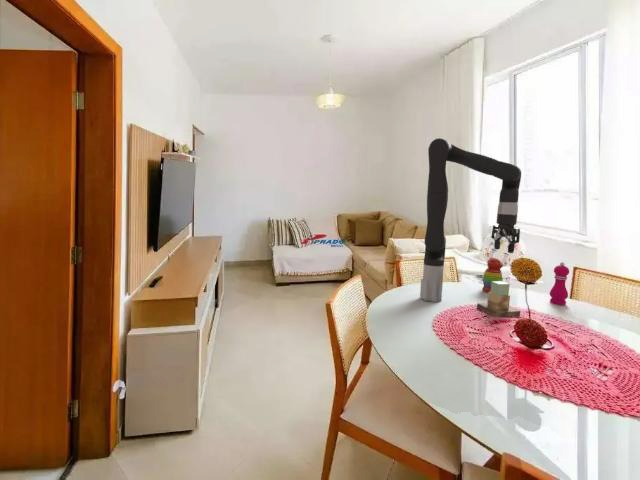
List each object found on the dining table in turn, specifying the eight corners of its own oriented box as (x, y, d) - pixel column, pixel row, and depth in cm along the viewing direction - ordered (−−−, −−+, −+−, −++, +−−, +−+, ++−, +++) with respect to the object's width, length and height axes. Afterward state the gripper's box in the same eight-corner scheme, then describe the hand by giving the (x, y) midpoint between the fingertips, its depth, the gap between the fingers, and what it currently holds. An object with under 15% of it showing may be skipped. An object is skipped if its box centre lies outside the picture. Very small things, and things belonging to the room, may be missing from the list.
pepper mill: (565, 302, 168) (570, 261, 165) (568, 306, 161) (573, 264, 158) (547, 300, 171) (552, 260, 168) (550, 304, 164) (554, 262, 161)
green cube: (498, 295, 149) (499, 284, 148) (490, 292, 154) (491, 281, 153) (508, 295, 150) (509, 284, 149) (500, 292, 155) (501, 281, 154)
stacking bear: (502, 295, 178) (505, 261, 176) (480, 291, 183) (483, 258, 181) (503, 290, 187) (506, 257, 185) (483, 287, 192) (486, 255, 190)
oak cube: (496, 309, 149) (497, 296, 148) (487, 305, 155) (488, 292, 154) (508, 309, 150) (510, 295, 149) (499, 304, 156) (500, 291, 155)
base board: (494, 316, 146) (494, 312, 146) (477, 307, 158) (477, 303, 157) (519, 315, 148) (520, 311, 148) (500, 306, 160) (501, 302, 159)
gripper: (488, 212, 153) (485, 248, 155) (511, 214, 139) (507, 254, 141) (503, 212, 154) (500, 248, 157) (527, 214, 140) (523, 253, 143)
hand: (503, 250), depth 149 cm, fingers open, 8 cm apart
